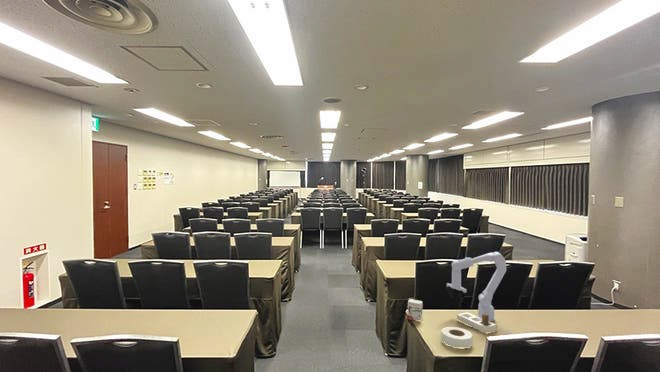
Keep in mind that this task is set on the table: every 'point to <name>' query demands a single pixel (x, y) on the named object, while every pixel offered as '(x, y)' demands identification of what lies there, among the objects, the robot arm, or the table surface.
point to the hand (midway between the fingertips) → (456, 300)
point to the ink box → (414, 309)
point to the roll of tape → (456, 337)
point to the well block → (476, 322)
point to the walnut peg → (485, 319)
